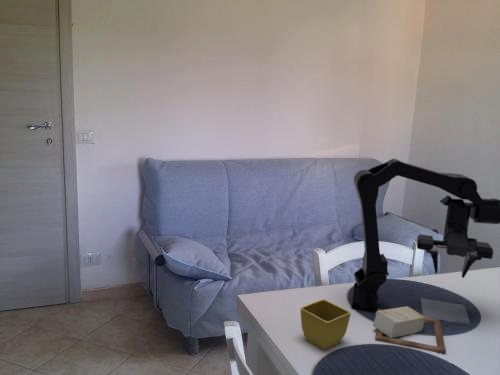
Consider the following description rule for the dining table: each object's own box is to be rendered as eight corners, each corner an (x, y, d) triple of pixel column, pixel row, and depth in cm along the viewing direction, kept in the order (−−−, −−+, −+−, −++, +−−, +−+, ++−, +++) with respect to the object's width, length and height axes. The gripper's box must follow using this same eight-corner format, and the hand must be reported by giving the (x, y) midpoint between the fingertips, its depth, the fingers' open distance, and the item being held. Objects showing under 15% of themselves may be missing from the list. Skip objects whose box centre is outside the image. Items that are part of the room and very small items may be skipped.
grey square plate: (422, 318, 122) (422, 316, 122) (420, 299, 133) (420, 298, 133) (470, 326, 119) (470, 324, 119) (464, 307, 130) (464, 305, 130)
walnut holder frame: (374, 343, 109) (375, 337, 109) (377, 313, 124) (377, 308, 124) (445, 357, 104) (445, 351, 104) (439, 324, 119) (439, 319, 119)
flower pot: (321, 330, 114) (323, 298, 112) (348, 346, 107) (351, 311, 105) (297, 341, 108) (299, 307, 106) (324, 358, 102) (327, 322, 100)
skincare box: (426, 317, 114) (396, 322, 107) (421, 332, 115) (391, 339, 108) (406, 305, 119) (376, 309, 112) (402, 320, 120) (372, 325, 113)
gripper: (422, 225, 116) (414, 280, 119) (502, 234, 110) (492, 292, 113) (419, 214, 126) (413, 266, 129) (492, 222, 121) (484, 276, 124)
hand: (449, 275), depth 124 cm, fingers open, 6 cm apart
